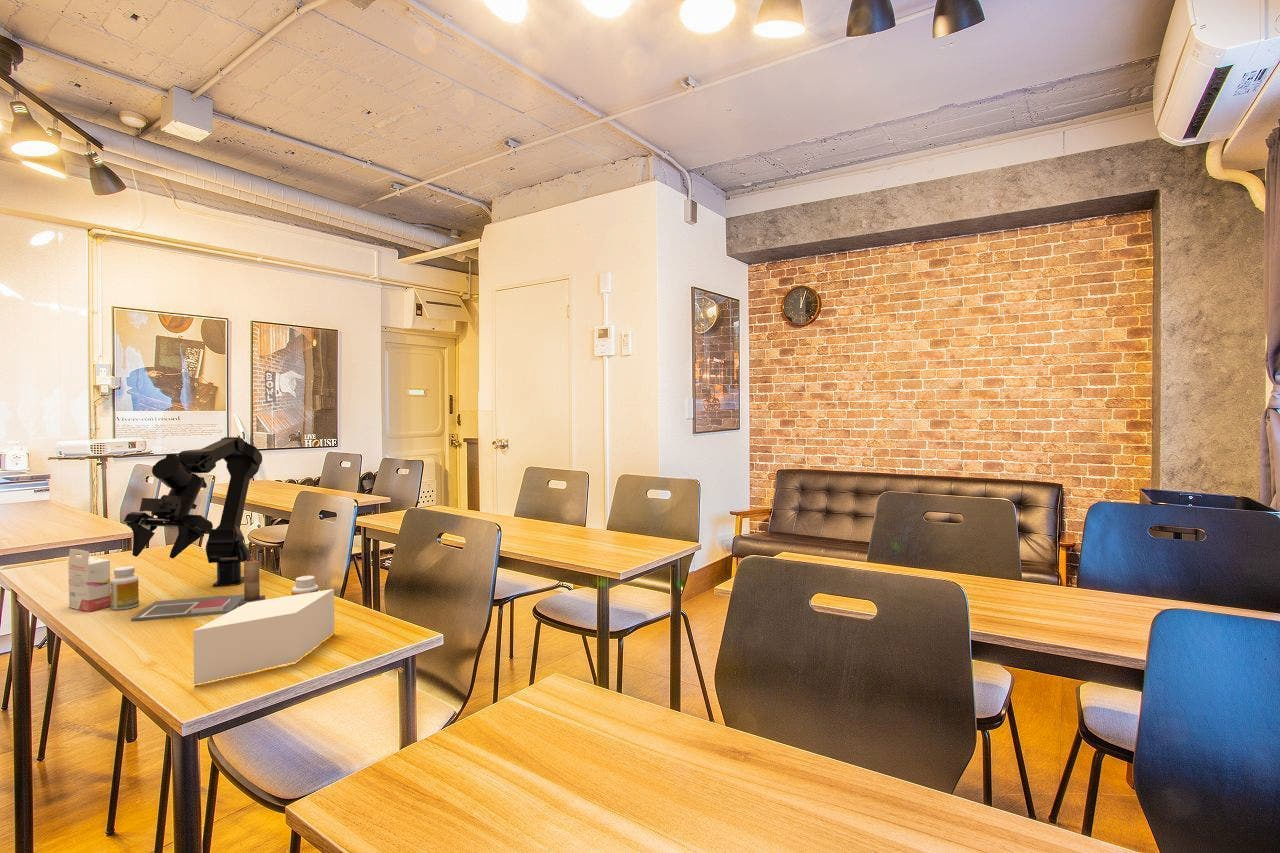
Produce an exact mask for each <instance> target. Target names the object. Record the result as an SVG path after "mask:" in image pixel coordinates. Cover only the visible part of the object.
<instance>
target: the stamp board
mask: <svg viewBox="0 0 1280 853" xmlns="http://www.w3.org/2000/svg"><path fill="white" fill-rule="evenodd" d="M242 597H244V593H243V594H232V595H221V596H208V597H207V596H206V597H205V596H204V597H191V598H180V599H179V598H178V599H165V600H155V601H154V602H152V603H151V604H150V605H148V606H146V607H145V608H144V609H142V610H141V611H140V612H138V613H137V614H136V615H134V616H133V617H132V618H130V621H131V622H138V621H139V622H140V621H151V620H163V619H164V618H165V619H174V618H175V617H177V618H186V617H185V616H188V617H198V615H200V616H207V615H208V616H210V615H211V614H212V615H220V614H223V613H224V614H226V613H228V612H230V611H232V610H234V609H236V608H238V603H239V601H240V600H241V598H242ZM224 614H223V615H224ZM212 615H211V616H212Z"/></svg>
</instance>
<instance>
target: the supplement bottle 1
mask: <svg viewBox="0 0 1280 853" xmlns="http://www.w3.org/2000/svg"><path fill="white" fill-rule="evenodd" d="M135 569H136V568H135V566H134V565H133V566H132V565H130V566H120V567H116V568H114V569H113V575H114V576H115V577H112V578H110V593H111V607H110V609H111V610H112V611H121V610H123V609H124V610H130V609H132V608H133V609H134V608H136V607H137V606H139V604H140V600H139V599H140V597H139V595H140V594H139V593H140V592H139V591H140V590H139V577H138V575H136V574H135ZM129 608H130V609H129Z"/></svg>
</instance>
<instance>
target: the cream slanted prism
mask: <svg viewBox="0 0 1280 853" xmlns="http://www.w3.org/2000/svg"><path fill="white" fill-rule="evenodd" d="M192 633H193V638H192V639H193V685H194V684H198V683H204V682H208V681H212V680H217V679H222V678H226V677H231V676H236V675H239V674H240V675H241V674H245V673H249V672H253V671H257V670H262V669H265V668H269V667H274V666H278V665H282V664H287V663H292V662H296V661H297V660H299V659H300V658H301V657H303V656H304V655H305V654H306V653H308V652H309V651H311V650H312V649H313V648H314V647H316V646H317V645H319V644H320V643H321V642H322V641H323V640H325V639H326V638H327V637H329V636H330V635H331V634H333V633H334V634H335V588H331V589H326V590H319V591H318V592H311V593H305V594H299V595H293V596H292V595H287V596H280V597H275V598H268V599H265V600H261V601H255V602H248V603H246V604H244V605H242V606H240V607H238V606H237V607H236V608H235V609H234V610H232V611H230V612H228V613H224V614H223V615H220V616H219V617H217V618H215V619H213V620H211V621H209V622H208V623H205V624H204V625H201V626H200V627H198V628H195V629H193V630H192Z"/></svg>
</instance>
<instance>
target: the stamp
mask: <svg viewBox="0 0 1280 853" xmlns="http://www.w3.org/2000/svg"><path fill="white" fill-rule="evenodd" d="M243 577H244V580H243V586H244V588H243V589H244V590H243V591H244V593H243V594H244V597H242V598H241V600H240V601H239V603H238V606H237V608H238V607H240V606H242V605H244V604H246V603H248V602H255V601H261V600H266V595H265V594H262V595H260V587H261V586H260V585H261V584H260V561H258V560H253V561H251V560H250V561H244V563H243Z"/></svg>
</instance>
